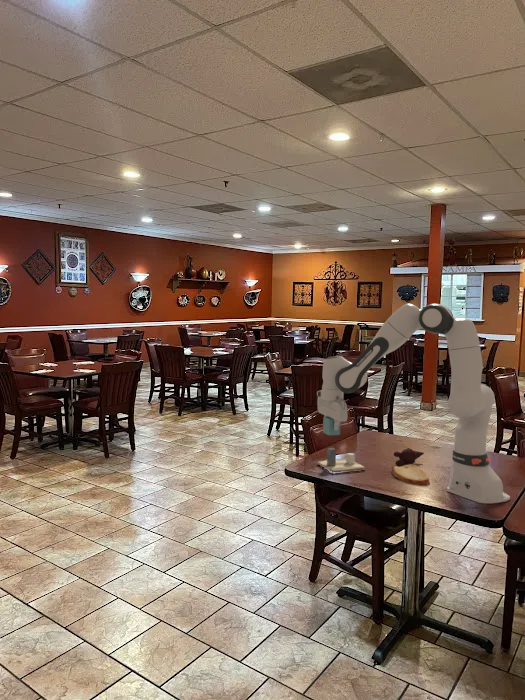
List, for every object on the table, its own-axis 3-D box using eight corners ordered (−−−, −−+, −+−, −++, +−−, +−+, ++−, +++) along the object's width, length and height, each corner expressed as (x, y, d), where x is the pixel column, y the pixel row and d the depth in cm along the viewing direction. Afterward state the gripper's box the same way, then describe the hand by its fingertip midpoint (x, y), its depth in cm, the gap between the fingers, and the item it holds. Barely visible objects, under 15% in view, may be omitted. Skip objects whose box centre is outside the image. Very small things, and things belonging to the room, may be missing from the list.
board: (365, 470, 225) (365, 467, 225) (332, 474, 220) (332, 470, 220) (348, 461, 238) (348, 458, 238) (317, 464, 233) (317, 461, 233)
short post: (354, 463, 230) (354, 454, 230) (349, 464, 229) (349, 455, 229) (351, 462, 232) (351, 452, 232) (346, 462, 231) (346, 453, 231)
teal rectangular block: (340, 434, 225) (340, 418, 224) (328, 435, 223) (329, 419, 223) (334, 431, 230) (334, 416, 229) (322, 432, 228) (323, 416, 227)
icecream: (417, 445, 243) (388, 451, 237) (427, 444, 236) (398, 451, 231) (420, 460, 242) (391, 467, 237) (430, 461, 235) (401, 467, 230)
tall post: (335, 465, 227) (335, 449, 226) (329, 466, 226) (330, 449, 225) (332, 464, 229) (332, 447, 229) (327, 464, 228) (327, 448, 228)
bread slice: (427, 487, 206) (427, 478, 206) (382, 479, 216) (382, 470, 216) (440, 475, 221) (440, 466, 221) (397, 468, 231) (397, 459, 231)
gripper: (351, 398, 216) (350, 433, 218) (328, 390, 236) (327, 422, 237) (337, 399, 214) (336, 434, 215) (315, 391, 233) (314, 423, 235)
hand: (331, 427), depth 226 cm, fingers closed on teal rectangular block, 5 cm apart
